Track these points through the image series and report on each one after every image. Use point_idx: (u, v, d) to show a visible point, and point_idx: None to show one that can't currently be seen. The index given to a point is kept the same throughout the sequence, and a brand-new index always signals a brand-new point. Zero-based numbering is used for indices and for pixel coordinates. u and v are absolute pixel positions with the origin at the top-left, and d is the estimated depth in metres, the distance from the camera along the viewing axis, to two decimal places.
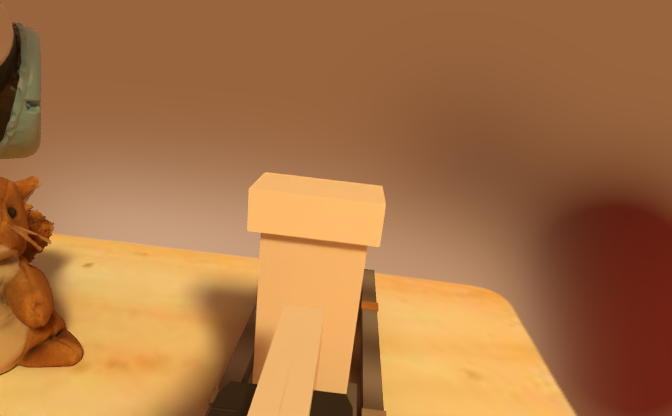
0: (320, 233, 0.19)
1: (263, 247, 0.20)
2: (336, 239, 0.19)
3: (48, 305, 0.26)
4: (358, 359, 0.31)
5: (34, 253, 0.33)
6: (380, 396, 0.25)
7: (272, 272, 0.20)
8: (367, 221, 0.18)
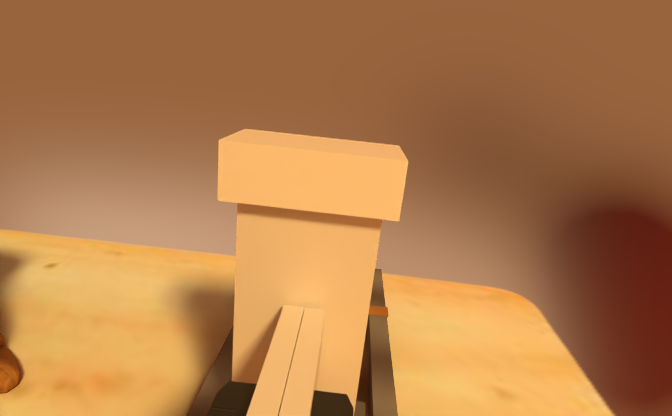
0: (317, 203, 0.14)
1: (241, 224, 0.15)
2: (339, 211, 0.14)
3: None
4: (365, 377, 0.25)
5: None
6: None
7: (253, 259, 0.15)
8: (383, 186, 0.13)
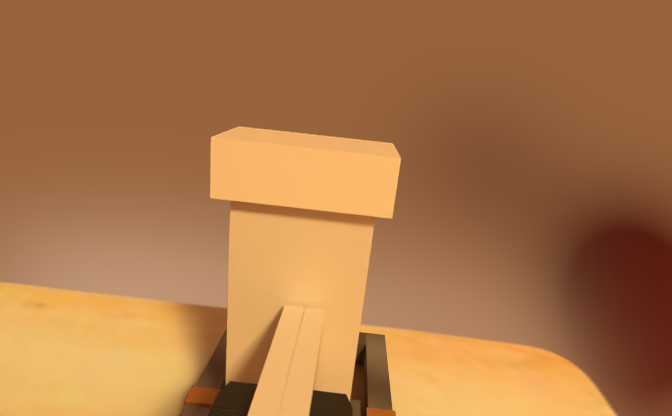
0: (310, 200, 0.14)
1: (234, 222, 0.15)
2: (332, 208, 0.14)
3: None
4: None
5: None
6: None
7: (247, 256, 0.15)
8: (375, 183, 0.13)
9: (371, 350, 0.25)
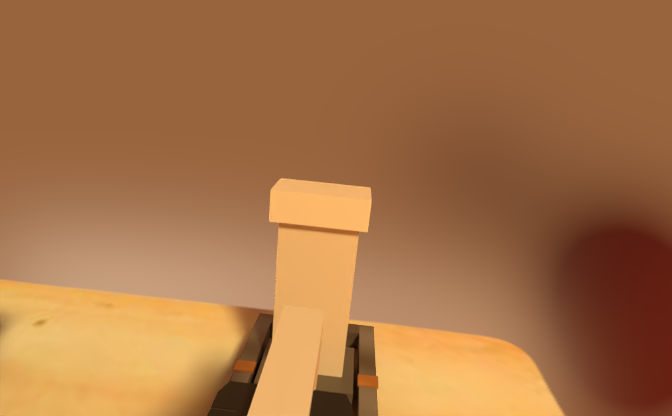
0: (323, 222, 0.25)
1: (280, 234, 0.26)
2: (335, 227, 0.25)
3: None
4: None
5: None
6: None
7: (287, 253, 0.26)
8: (358, 213, 0.25)
9: (363, 337, 0.34)
